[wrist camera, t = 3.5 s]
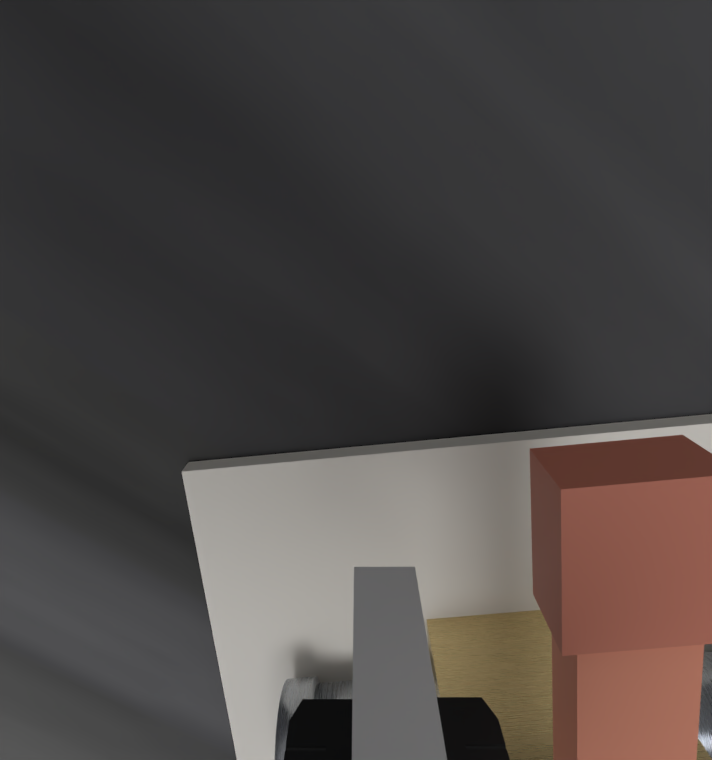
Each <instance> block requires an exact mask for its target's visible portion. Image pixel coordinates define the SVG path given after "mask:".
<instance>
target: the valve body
mask: <svg viewBox="0 0 712 760" xmlns="http://www.w3.org/2000/svg"><path fill="white" fill-rule="evenodd" d="M426 620H427V633H428V645H429V654H430V660H431V666H432V672H433V678H434V684H435V690H436V696H437V697H482V698H483V700H484V701H485V702H486V704H487V705H488V706H489V708H490V709H491V710H492V711H493V713H494V714H495V715H496V717H497V718H498V720H499V723H500V727H501V730H502V734H503V737H504V741H505V744H506V749H507V751H508V755H509V758H510V760H553V700H552V633H551V631H550V629H549V627H548V625H547V623H546V621H545V618H544V616H543V614H542V612H541V610H532V611H520V612H508V613H496V614H484V615H472V616H460V617H448V618H436V619H426ZM352 696H353V680H348V681H336V682H323V683H320V681H319V679H318V677H317V676H314V677H301V678H289V679H287V680H286V681H285V683H284V685H283V688H282V692H281V697H280V702H279V708H278V716H277V726H276V740H275V760H284V754H285V750H286V740H287V733H288V725H289V720H290V719H291V717H292V715H293V714H294V712H295V711H296V709H297V707H298V706H299V704H300V703H301V701H302V699H352ZM697 760H712V651H709V652H704V656H703V671H702V686H701V701H700V716H699V730H698V745H697Z"/></svg>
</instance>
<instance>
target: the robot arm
mask: <svg viewBox="0 0 712 760" xmlns="http://www.w3.org/2000/svg"><path fill="white" fill-rule="evenodd" d="M284 760H510V758H509V755H508V751H507V749H506V744H505V741H504V737H503V734H502V730H501V727H500V723H499V720H498V718H497V717H496V715H495V714H494V713H493V711H492V710H491V709H490V708H489V706H488V705H487V704H486V702H485V701H484V700H483V698H482V697H437V696H436V690H435V684H434V678H433V672H432V666H431V660H430V654H429V648H428V642H427V636H426V630H425V624H424V618H423V612H422V606H421V600H420V594H419V588H418V582H417V576H416V570H415V567H354V609H353V696H352V699H302V701H301V703H300V704H299V706H298V707H297V709H296V711H295V712H294V714H293V715H292V717H291V719H290V720H289V725H288V733H287V740H286V750H285V754H284Z"/></svg>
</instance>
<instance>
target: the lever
mask: <svg viewBox="0 0 712 760" xmlns="http://www.w3.org/2000/svg"><path fill="white" fill-rule="evenodd" d="M530 488H531V532H532V576H533V595H534V597H535V599H536V602H537V604H538V606H539V608H540V610H541V612H542V614H543V616H544V618H545V621H546V623H547V625H548V627H549V629H550V631H551V633H552V700H553V760H697V745H698V730H699V716H700V701H701V686H702V671H703V656H704V644H712V453H710V452H709V451H707V450H706V449H704V448H702V447H701V446H699V445H698V444H696V443H695V442H693V441H692V440H690V439H689V438H687V437H686V436H684V435H673V436H662V437H651V438H640V439H629V440H618V441H607V442H596V443H585V444H574V445H563V446H552V447H541V448H530Z"/></svg>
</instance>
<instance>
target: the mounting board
mask: <svg viewBox="0 0 712 760" xmlns="http://www.w3.org/2000/svg"><path fill="white" fill-rule="evenodd" d="M673 435H684V436H686V437H687V438H689V439H690V440H692V441H693V442H695V443H696V444H698V445H699V446H701V447H702V448H704V449H706V450H707V451H709V452H710V453H712V414H705V415H694V416H684V417H673V418H662V419H651V420H640V421H629V422H618V423H607V424H597V425H586V426H575V427H564V428H553V429H542V430H531V431H520V432H510V433H499V434H488V435H477V436H466V437H455V438H444V439H433V440H422V441H412V442H401V443H390V444H379V445H368V446H357V447H346V448H335V449H325V450H314V451H303V452H292V453H281V454H270V455H259V456H248V457H238V458H227V459H216V460H205V461H194V462H188V463H187V465H186V466H185V468H184V469H183V470H182V477H183V482H184V487H185V492H186V497H187V503H188V508H189V513H190V518H191V523H192V529H193V534H194V539H195V544H196V549H197V555H198V560H199V565H200V570H201V575H202V581H203V586H204V591H205V596H206V601H207V607H208V612H209V617H210V622H211V627H212V632H213V638H214V643H215V648H216V653H217V658H218V664H219V669H220V674H221V679H222V684H223V690H224V695H225V700H226V705H227V710H228V716H229V721H230V726H231V731H232V736H233V742H234V747H235V752H236V757H237V760H275V740H276V726H277V716H278V708H279V702H280V697H281V692H282V688H283V685H284V683H285V681H286V680H287V679H289V678H301V677H314V676H317V677H318V679H319V681H320V683H323V682H336V681H348V680H353V609H354V567H415V570H416V576H417V582H418V588H419V594H420V600H421V606H422V612H423V618H424V624H425V630H426V636H427V642H428V633H427V620H426V619H436V618H448V617H460V616H472V615H484V614H496V613H508V612H520V611H532V610H540V608H539V606H538V604H537V602H536V599H535V597H534V595H533V576H532V532H531V488H530V448H541V447H552V446H563V445H574V444H585V443H596V442H607V441H618V440H629V439H640V438H651V437H662V436H673ZM428 648H429V645H428ZM709 651H712V644H704V652H709Z"/></svg>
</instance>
